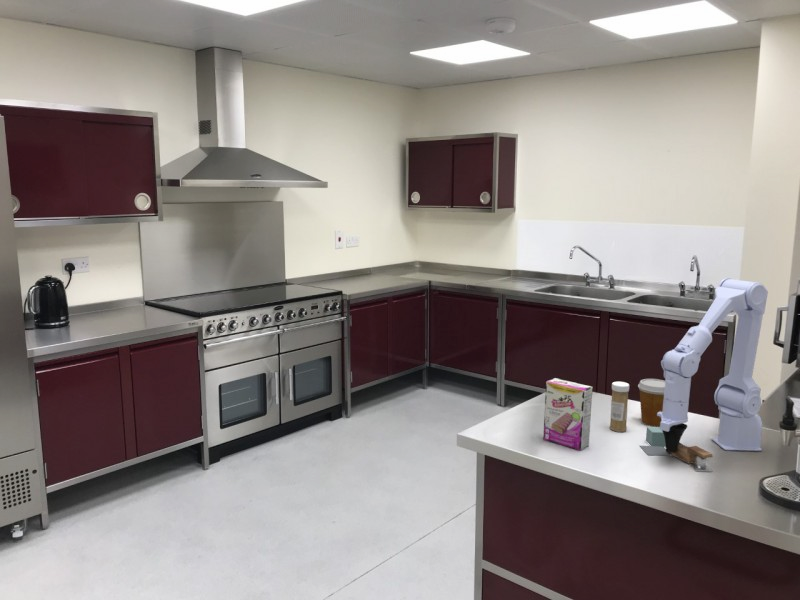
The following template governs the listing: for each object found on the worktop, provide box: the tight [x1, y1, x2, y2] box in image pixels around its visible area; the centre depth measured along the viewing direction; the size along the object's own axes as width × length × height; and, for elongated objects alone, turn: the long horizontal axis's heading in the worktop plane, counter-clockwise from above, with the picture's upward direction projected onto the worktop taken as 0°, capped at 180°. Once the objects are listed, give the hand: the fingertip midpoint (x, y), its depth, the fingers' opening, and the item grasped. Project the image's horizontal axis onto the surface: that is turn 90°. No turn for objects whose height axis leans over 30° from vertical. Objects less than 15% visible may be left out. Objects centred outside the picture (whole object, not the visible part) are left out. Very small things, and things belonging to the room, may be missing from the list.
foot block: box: [645, 426, 666, 448], centre depth 164 cm, size 4×4×4 cm
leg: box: [666, 441, 714, 464], centre depth 153 cm, size 12×3×4 cm, turn 18°
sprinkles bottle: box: [609, 381, 630, 433], centre depth 173 cm, size 5×5×13 cm
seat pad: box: [639, 445, 673, 457], centre depth 159 cm, size 6×6×1 cm
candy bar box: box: [542, 377, 593, 452], centre depth 163 cm, size 11×5×16 cm, turn 47°
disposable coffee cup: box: [637, 378, 665, 427], centre depth 179 cm, size 10×10×12 cm
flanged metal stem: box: [688, 455, 714, 473], centre depth 149 cm, size 4×4×3 cm
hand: (671, 451), depth 155 cm, fingers closed, pressing on leg
